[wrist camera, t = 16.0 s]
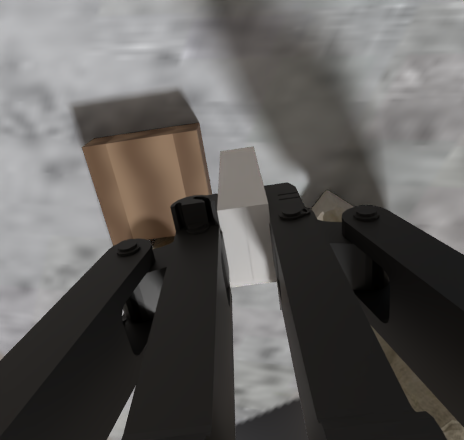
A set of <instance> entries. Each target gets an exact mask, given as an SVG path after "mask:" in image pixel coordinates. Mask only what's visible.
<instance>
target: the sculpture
mask: <svg viewBox="0 0 464 440" xmlns="http://www.w3.org/2000/svg"><path fill="white" fill-rule="evenodd" d="M352 207H353V206H352V205H350V204H349V203H347V202H346V201H344V200H343V199H341V198H340V197H338V196H337V195H335V194H333V193H332V192H330V191H328V190H327V191H325V192H324V193H323V195H322V196H321V197H320V198H319V200H318V201H317V202H316V204H315V205H314V206H313V208H312V209H311V210H312V211H313V212H314V213H315V215H316V217H317V219H318V220H321V221H329V222H342V213H343V212H344V211H346V210H347V209H350V208H352ZM371 327H372V326H371ZM372 329H373V331H374V333H375V335H376V337H377V339H378V341H379V343H380V345H381V347H382V349H383V351H384V353H385V355H386V357H387V359H388V361H389V363H390V365H391V367H392V369H393V371H394V373H395V375H396V377H397V379H398V381H399V383H400V385H401V387H402V389H403V391H404V393H405V395H406V397H407V399H408V401H409V403H410V405H411V406H412V408H413V409H414V410H415V411H416V412H421V411H426V412H428V413H429V414H430V415H431V416H432V417H434V419H435V420H436V422H437V424H438V425H439V427H440V428H441V430H442V431H443V433H444V435H445V437H446V438H447V440H464V427H463V426H462V425H461V424H460V423H459V422H458V421H457V420H456V419H455V417H454V416H453V415H452V414H451V413H450V412H449V411H448V410H447V409H446V408H445V406H444V405H443V404H442V403H441V402H440V401H439V400H438V399H437V398H436V396H435V395H434V394H433V393H432V392H431V391H430V390H429V389H428V388H427V387H426V385H425V384H424V383H423V382H422V381H421V380H420V379H419V378H418V377H417V376H416V374H415V373H414V372H413V371H412V370H411V369H410V368H409V367H408V366H407V365H406V363H405V362H404V361H403V360H402V359H401V358H400V357H399V356H398V355H397V354H396V352H395V351H394V350H393V349H392V348H391V347H390V346H389V345H388V344H387V342H386V341H385V340H384V339H383V338H382V337H381V336H380V335H379V334H378V333H377V331H376V330H375V329H374V328H373V327H372Z"/></svg>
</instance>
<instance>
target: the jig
mask: <svg viewBox="0 0 464 440" xmlns="http://www.w3.org/2000/svg"><path fill="white" fill-rule="evenodd" d="M82 149H83V152H84V155H85V158H86V162H87V165H88V168H89V171H90V174H91V177H92V180H93V183H94V187H95V190H96V193H97V196H98V199H99V202H100V205H101V208H102V212H103V215H104V218H105V221H106V224H107V227H108V230H109V234H110V237H111V240H112V243H113V246H114V245H116V244H118V243H120V242H121V241H124V240H127V239H138V238H139V239H146V240H148V239H155V238H162V237H170V236H175V234H176V230H175V225H174V221H173V217H172V213H171V208H170V206H171V205H172V204H173V203H174V202H176V201H177V200H180V199H182V198H185V197H189V196H194V195H212V190H211V185H210V179H209V174H208V168H207V163H206V157H205V152H204V146H203V141H202V135H201V130H200V124H199V123H193V124H186V125H180V126H173V127H166V128H160V129H153V130H147V131H140V132H134V133H127V134H121V135H114V136H107V137H101V138H94V139H93V140H91V141H90V142H89V143H87V144H86V145H85V146H83V147H82Z"/></svg>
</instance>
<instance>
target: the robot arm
mask: <svg viewBox="0 0 464 440" xmlns="http://www.w3.org/2000/svg"><path fill="white" fill-rule="evenodd" d="M170 208H171V213H172V217H173V221H174V225H175V230H176V234H175V237H174V241H173V242H172V243H170V244H168V245H165V246H162V247H159V248H155V249H152V246H151V243H150V241H148V240H146V239H139V238H138V239H127V240H124V241H121V242H120V243H118V244H116V245H114V246H113V247H112V248H110V249H109V250H108V251H107V252H106V253H105V254H104V255H103V256H102V257H101V258H100V259H99V260H98V261H97V262H96V263H95V264H94V265H93V266H92V267H91V268H90V269H89V270H88V271H87V272H86V273H85V274H84V275H83V276H82V277H81V278H80V280H79V281H78V282H77V283H76V284H75V285H74V286H73V287H72V288H71V289H70V290H69V291H68V292H67V293H66V294H65V295H64V296H63V297H62V298H61V299H60V300H59V301H58V302H57V303H56V304H55V305H54V306H53V307H52V308H51V309H50V310H49V311H48V312H47V313H46V314H45V315H44V316H43V317H42V319H41V320H40V321H39V322H38V323H37V324H36V325H35V326H34V327H33V328H32V329H31V330H30V331H29V332H28V333H27V334H26V335H25V336H24V337H23V338H22V339H21V340H20V341H19V342H18V343H17V344H16V345H15V346H14V347H13V348H12V349H11V350H10V351H9V352H8V353H7V354H6V355H5V356H4V357H3V359H2V360H1V361H0V440H107V438H108V436H109V434H110V432H111V431H112V429H113V427H114V425H115V423H116V421H117V419H118V417H119V416H120V414H121V412H122V410H123V408H124V406H125V404H126V402H127V401H128V399H129V397H130V395H131V393H132V391H133V389H134V387H135V386H136V388H135V391H134V395H133V399H132V403H131V407H130V411H129V415H128V418H127V422H126V426H125V430H124V434H123V437H122V440H235V400H234V360H233V321H232V294H231V289H230V285H231V287H239V286H246V285H254V284H261V283H269V282H277V285H278V294H279V302H280V310H282V312H283V317H284V322H285V327H286V332H287V337H288V342H289V347H290V352H291V357H292V362H293V367H294V372H295V377H296V382H297V387H298V392H299V397H300V401H301V406H302V411H303V416H304V421H305V426H306V431H307V436H308V440H447V438H446V437H445V435H444V433H443V431H442V430H441V428H440V427H439V425H438V424H437V422H436V420H435V419H434V417H432V416H431V415H430V414H429V413H428V412H426V411H421V412H416V411H415V410H414V409H413V408H412V406H411V405H410V403H409V401H408V399H407V397H406V395H405V393H404V391H403V389H402V387H401V385H400V383H399V381H398V379H397V377H396V375H395V373H394V371H393V369H392V367H391V365H390V363H389V361H388V359H387V357H386V355H385V353H384V351H383V349H382V347H381V345H380V343H379V341H378V339H377V337H376V335H375V333H374V331H373V329H372V327H373V328H374V329H375V330H376V331H377V333H378V334H379V335H380V336H381V337H382V338H383V339H384V340H385V341H386V342H387V344H388V345H389V346H390V347H391V348H392V349H393V350H394V351H395V352H396V354H397V355H398V356H399V357H400V358H401V359H402V360H403V361H404V362H405V363H406V365H407V366H408V367H409V368H410V369H411V370H412V371H413V372H414V373H415V374H416V376H417V377H418V378H419V379H420V380H421V381H422V382H423V383H424V384H425V385H426V387H427V388H428V389H429V390H430V391H431V392H432V393H433V394H434V395H435V396H436V398H437V399H438V400H439V401H440V402H441V403H442V404H443V405H444V406H445V408H446V409H447V410H448V411H449V412H450V413H451V414H452V415H453V416H454V417H455V419H456V420H457V421H458V422H459V423H460V424H461V425H462V426H463V427H464V255H463V254H461V253H460V252H458V251H456V250H454V249H453V248H451V247H449V246H448V245H446V244H444V243H443V242H441V241H439V240H437V239H436V238H434V237H432V236H431V235H429V234H427V233H426V232H424V231H422V230H420V229H419V228H417V227H415V226H414V225H412V224H410V223H409V222H407V221H405V220H403V219H402V218H400V217H398V216H397V215H395V214H393V213H392V212H390V211H388V210H386V209H384V208H381V207H376V206H373V205H367V206H366V205H360V206H357V207H352V208H350V209H347V210H346V211H344V212H343V213H342V222H329V221H321V220H318V219H317V217H316V215H315V213H314V212H313V211H312V210H311V209H309V208H306V207H305V206H304V204H303V202H302V200H301V198H300V196H299V193H298V191H297V189H296V187H295V186H293V185H291V184H289V183H281V184H274V185H267V186H264V185H263V181H262V177H261V173H260V169H259V166H258V162H257V158H256V154H255V150H254V147H247V148H240V149H234V150H227V151H220V168H219V186H218V194H212V195H194V196H189V197H185V198H182V199H180V200H177V201H176V202H174V203H173V204H172V205H171V206H170ZM229 279H230V283H229ZM122 310H124V314H123V316H122ZM371 326H372V327H371Z"/></svg>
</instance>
